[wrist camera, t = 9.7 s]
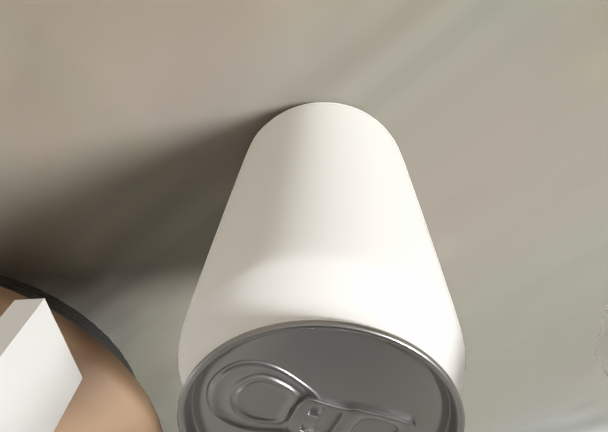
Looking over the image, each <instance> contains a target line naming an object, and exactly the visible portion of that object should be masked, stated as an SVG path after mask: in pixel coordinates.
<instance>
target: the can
mask: <svg viewBox="0 0 608 432" xmlns="http://www.w3.org/2000/svg"><path fill="white" fill-rule="evenodd" d="M178 363H179V373H180V378H181V383H182V387H183V389H182V391H181V394H180V398H179V402H178V411H177V418H178V427H179V431H180V432H464V428H465V415H464V408H463V404H462V400H461V397H460V395H461V391H462V387H463V383H464V378H465V369H466V353H465V346H464V341H463V336H462V331H461V328H460V325H459V321H458V318H457V315H456V311H455V308H454V305H453V302H452V299H451V296H450V293H449V290H448V287H447V284H446V281H445V278H444V275H443V272H442V269H441V266H440V263H439V260H438V257H437V254H436V252H435V249H434V246H433V243H432V240H431V237H430V234H429V231H428V228H427V225H426V222H425V220H424V217H423V214H422V211H421V208H420V205H419V202H418V199H417V197H416V194H415V191H414V188H413V185H412V182H411V180H410V177H409V174H408V171H407V168H406V166H405V163H404V160H403V158H402V155H401V153H400V150H399V148H398V146H397V144H396V142H395V141H394V139H393V137H392V136H391V135H390V133H389V132H388V131H387V130H386V128H385V127H384V126H383V125H382V124H381V123H379V122H378V121H377V120H376V119H374V118H373V117H372V116H370V115H369V114H367V113H365V112H363V111H361V110H359V109H357V108H354V107H351V106H348V105H344V104H339V103H332V102H316V103H308V104H303V105H300V106H296V107H294V108H291V109H289V110H287V111H284V112H283V113H281V114H279V115H278V116H276V117H275V118H273V119H272V120H271V121H269V122H268V123H267V124H266V125H265V126H264V127H263V128H262V129H261V130H260V131H259V132H258V133H257V134H256V136H255V137H254V139H253V141H252V143H251V145H250V147H249V149H248V151H247V154H246V156H245V159H244V161H243V164H242V166H241V169H240V171H239V174H238V176H237V179H236V182H235V184H234V187H233V190H232V192H231V195H230V197H229V200H228V203H227V205H226V208H225V211H224V213H223V216H222V219H221V221H220V224H219V227H218V229H217V232H216V235H215V237H214V240H213V243H212V245H211V248H210V251H209V254H208V256H207V259H206V262H205V264H204V267H203V270H202V273H201V275H200V278H199V281H198V284H197V286H196V289H195V292H194V295H193V297H192V300H191V303H190V306H189V309H188V312H187V315H186V318H185V321H184V324H183V328H182V332H181V337H180V342H179V348H178Z"/></svg>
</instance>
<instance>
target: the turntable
mask: <svg viewBox="0 0 608 432" xmlns="http://www.w3.org/2000/svg"><path fill="white" fill-rule="evenodd" d="M25 299H29V298H27V297H25V296H23V295H21V294H19V293H16V292H14V291H12V290H9V289H6V288H4V287H1V286H0V317H1V316H2V315H3V314H4V312H5V311H6V310H7V309H8V308H9V306H10V305H11V304H12V303H13V302H14V300H25ZM50 311H51V313H52V315H53V317H54V319H55V321H56V323H57V325H58V327H59V330H60V332H61V334H62V336H63V338H64V340H65V342H66V344H67V346H68V348H69V350H70V353H71V355H72V357H73V359H74V361H75V363H76V365H77V367H78V369H79V371H80V373H81V376H82V380H81V382H80V384H79V386H78V388H77V389H76V391H75V393H74V395H73V397H72V399H71V401H70V402H69V404H68V406H67V408H66V410H65V412H64V413H63V415H62V417H61V419H60V421H59V423H58V425H57V426H56V428H55V430H54V432H163V431H162V428H161V424H160V421H159V418H158V415H157V413H156V411H155V409H154V407H153V405H152V403H151V401H150V399H149V397H148V395H147V394H146V393H145V391H144V390H143V388H142V387H141V385H140V384H139V383H138V381H137V380H136V378H135V377H134V376H133V375H132V374H131V373H130V371H129V370H128V369H127V368H126V367H125V366H124V365H123V364H122V363H121V362H120V360H119V359H118V358H117V357H116V356H114V355H113V354H112V353H111V352H110V351H109V350H108V349H107V348H105V347H104V346H103V345H102V344H101V343H100V342H99V341H97V340H96V339H95V338H94V337H92V336H91V335H89V334H88V333H87V332H85V331H84V330H82V329H81V328H80V327H78V326H77V325H76V324H74V323H73V322H71V321H69V320H68V319H66V318H64V317H63V316H61V315H59V314H58V313H56V312H54V311H52V310H51V309H50Z"/></svg>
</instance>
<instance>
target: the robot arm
mask: <svg viewBox="0 0 608 432" xmlns="http://www.w3.org/2000/svg"><path fill="white" fill-rule="evenodd" d="M594 355H595V357H596V358H597V360H598V362H599V363H600V365H601V366H602V368H603V370H604V371H605V373H606V374H607V376H608V303H607V307H606V311H605V315H604V318H603V322H602V326H601V330H600V334H599V338H598V342H597V346H596V350H595V354H594ZM81 380H82V376H81V373H80V371H79V369H78V367H77V365H76V363H75V361H74V359H73V357H72V355H71V353H70V350H69V348H68V346H67V344H66V342H65V340H64V338H63V336H62V334H61V332H60V330H59V327H58V325H57V323H56V321H55V319H54V317H53V315H52V313H51V311H50V309H49V306H48V304H47V302H46V300H45V298H42V299H25V300H14V302H13V303H12V304H11V305H10V306H9V308H8V309H7V310H6V311H5V312H4V314H3V315H2V316H1V317H0V432H54V430H55V428H56V426H57V425H58V423H59V421H60V419H61V417H62V415H63V413H64V412H65V410H66V408H67V406H68V404H69V402H70V401H71V399H72V397H73V395H74V393H75V391H76V389H77V388H78V386H79V384H80V382H81Z"/></svg>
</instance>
